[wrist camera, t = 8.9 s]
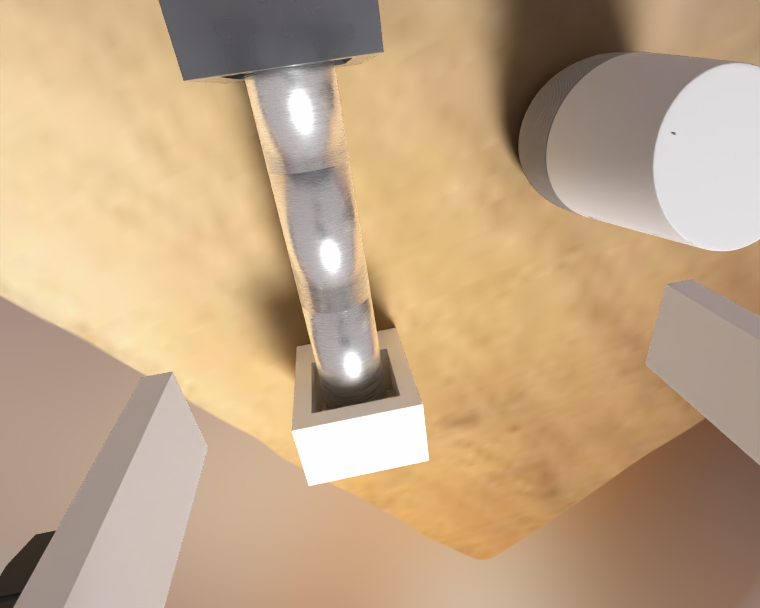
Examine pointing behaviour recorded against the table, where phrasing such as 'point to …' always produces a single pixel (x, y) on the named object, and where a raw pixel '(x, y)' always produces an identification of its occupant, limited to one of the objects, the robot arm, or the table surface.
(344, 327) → the tube
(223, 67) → the sleeve
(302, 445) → the socket block
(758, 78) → the smart speaker
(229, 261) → the table surface
